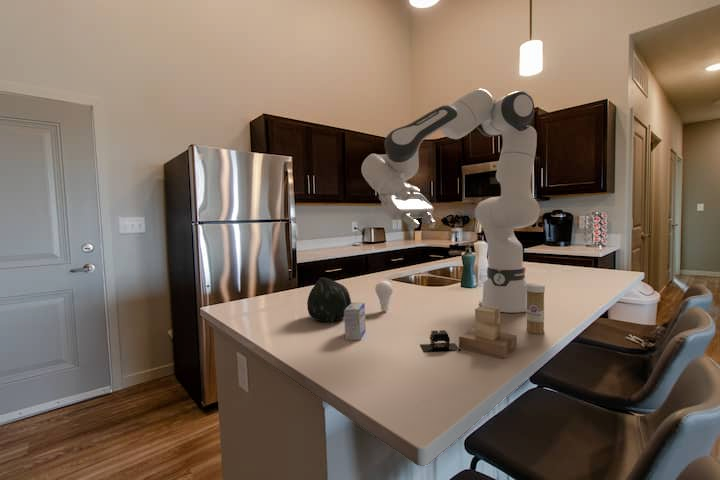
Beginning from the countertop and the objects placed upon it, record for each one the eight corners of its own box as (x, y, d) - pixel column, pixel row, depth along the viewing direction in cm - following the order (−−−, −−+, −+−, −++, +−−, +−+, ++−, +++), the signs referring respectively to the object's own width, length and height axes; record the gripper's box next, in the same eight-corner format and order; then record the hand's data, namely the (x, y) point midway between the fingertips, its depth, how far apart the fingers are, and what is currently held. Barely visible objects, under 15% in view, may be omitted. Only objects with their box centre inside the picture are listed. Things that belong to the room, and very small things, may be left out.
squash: (360, 296, 123) (331, 266, 122) (356, 310, 108) (322, 275, 107) (332, 322, 125) (303, 292, 124) (324, 339, 110) (291, 305, 110)
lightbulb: (375, 309, 126) (374, 279, 125) (392, 309, 125) (391, 278, 125) (376, 314, 120) (375, 282, 119) (393, 313, 119) (392, 282, 118)
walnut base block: (474, 337, 94) (474, 326, 94) (516, 346, 87) (516, 335, 87) (459, 348, 87) (459, 336, 87) (503, 358, 80) (503, 346, 80)
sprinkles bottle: (526, 333, 96) (526, 285, 95) (526, 328, 100) (526, 282, 99) (545, 335, 94) (545, 286, 93) (543, 329, 98) (544, 282, 97)
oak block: (482, 331, 90) (482, 305, 90) (500, 335, 87) (500, 307, 87) (475, 336, 87) (475, 308, 86) (493, 340, 84) (493, 311, 83)
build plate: (459, 343, 92) (459, 326, 92) (469, 354, 85) (468, 336, 84) (413, 345, 92) (412, 328, 91) (418, 356, 84) (417, 338, 84)
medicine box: (360, 340, 95) (359, 309, 94) (344, 340, 96) (343, 309, 95) (365, 331, 103) (364, 302, 102) (351, 330, 104) (350, 302, 103)
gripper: (381, 185, 98) (412, 219, 92) (420, 187, 113) (448, 216, 108) (370, 202, 101) (399, 235, 96) (409, 202, 117) (436, 231, 111)
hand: (425, 225), depth 102 cm, fingers open, 8 cm apart
